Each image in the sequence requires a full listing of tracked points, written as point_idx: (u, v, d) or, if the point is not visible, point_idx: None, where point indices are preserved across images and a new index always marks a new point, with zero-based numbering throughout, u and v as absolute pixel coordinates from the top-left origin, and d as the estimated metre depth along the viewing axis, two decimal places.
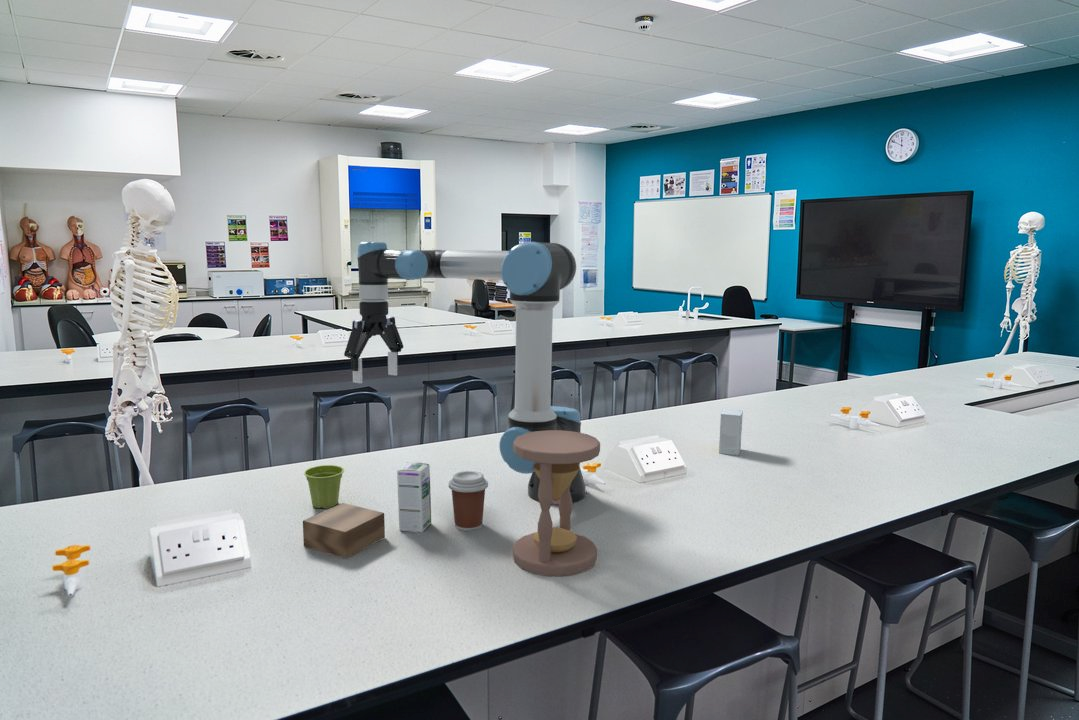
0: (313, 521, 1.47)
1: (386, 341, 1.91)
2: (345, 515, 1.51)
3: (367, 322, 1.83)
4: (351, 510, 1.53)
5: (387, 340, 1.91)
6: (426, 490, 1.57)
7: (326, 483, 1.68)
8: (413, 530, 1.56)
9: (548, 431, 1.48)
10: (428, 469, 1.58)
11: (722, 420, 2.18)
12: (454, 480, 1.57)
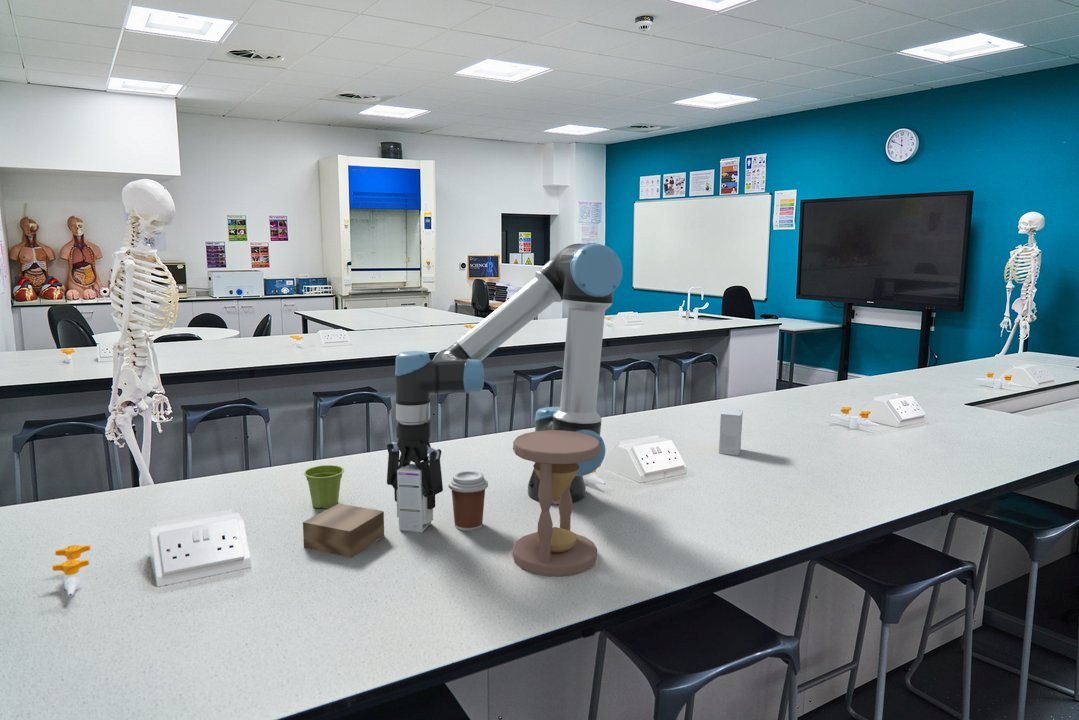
0: (313, 522, 1.47)
1: None
2: (345, 515, 1.51)
3: (397, 444, 1.57)
4: (350, 510, 1.53)
5: None
6: None
7: (326, 483, 1.68)
8: (413, 530, 1.56)
9: (548, 431, 1.48)
10: None
11: (722, 420, 2.18)
12: (454, 480, 1.57)
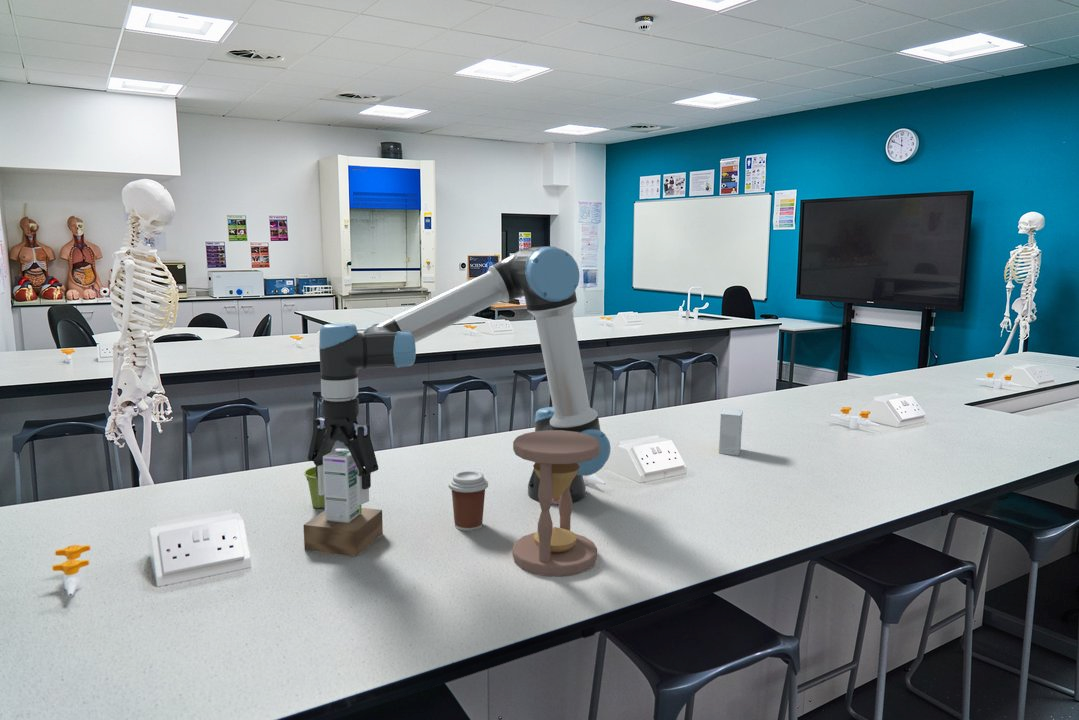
0: (314, 524, 1.46)
1: None
2: None
3: (324, 422, 1.47)
4: None
5: None
6: (355, 479, 1.48)
7: None
8: (339, 520, 1.47)
9: (548, 431, 1.48)
10: None
11: (722, 420, 2.18)
12: (454, 480, 1.57)
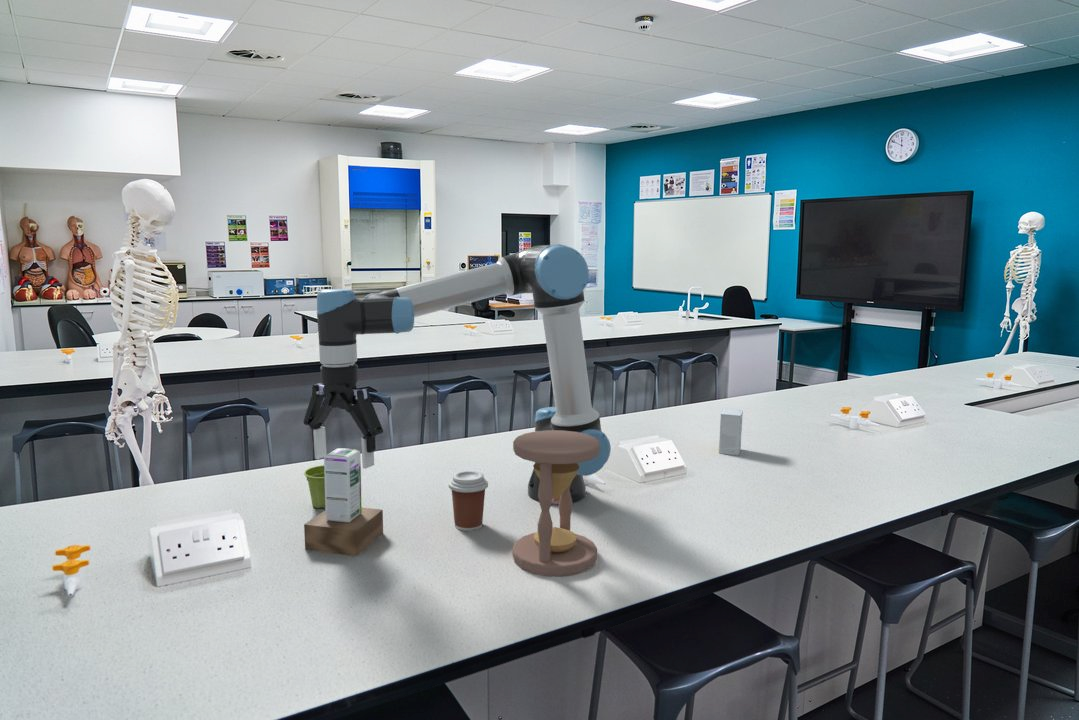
0: (315, 523, 1.46)
1: None
2: None
3: (323, 389, 1.46)
4: None
5: None
6: (356, 478, 1.48)
7: None
8: (340, 520, 1.47)
9: (548, 431, 1.48)
10: (358, 455, 1.49)
11: (722, 420, 2.18)
12: (454, 480, 1.57)
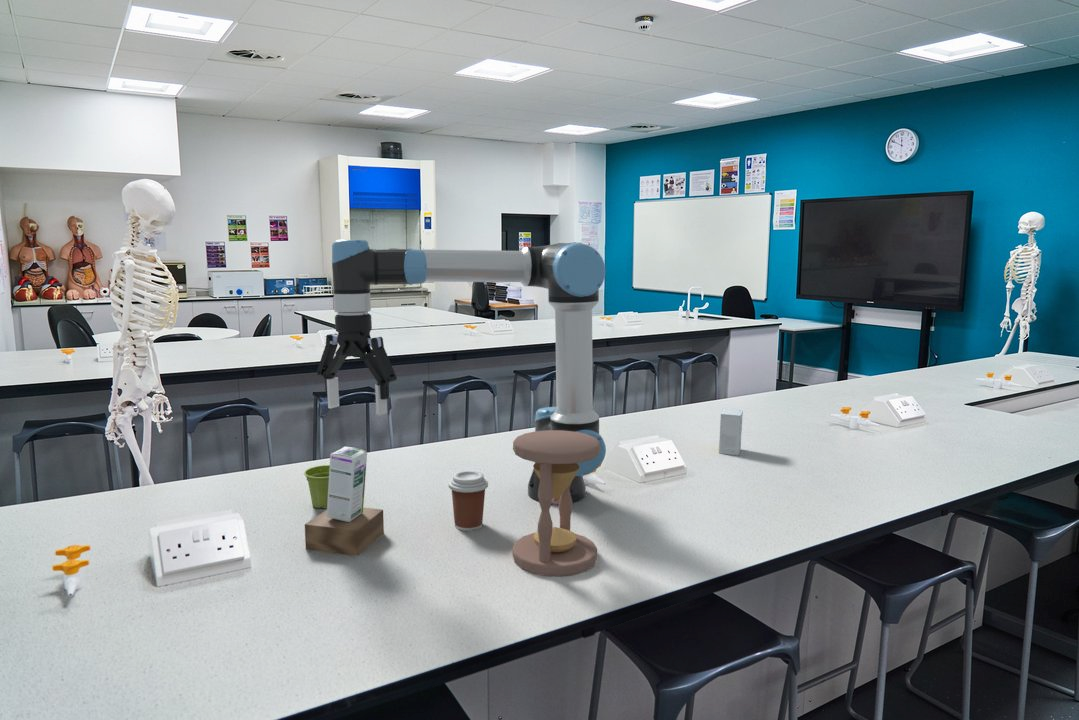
0: (315, 523, 1.46)
1: None
2: None
3: (337, 338, 1.49)
4: None
5: None
6: (360, 479, 1.48)
7: (326, 483, 1.68)
8: (340, 519, 1.47)
9: (548, 431, 1.48)
10: (365, 456, 1.49)
11: (722, 420, 2.18)
12: (454, 480, 1.57)
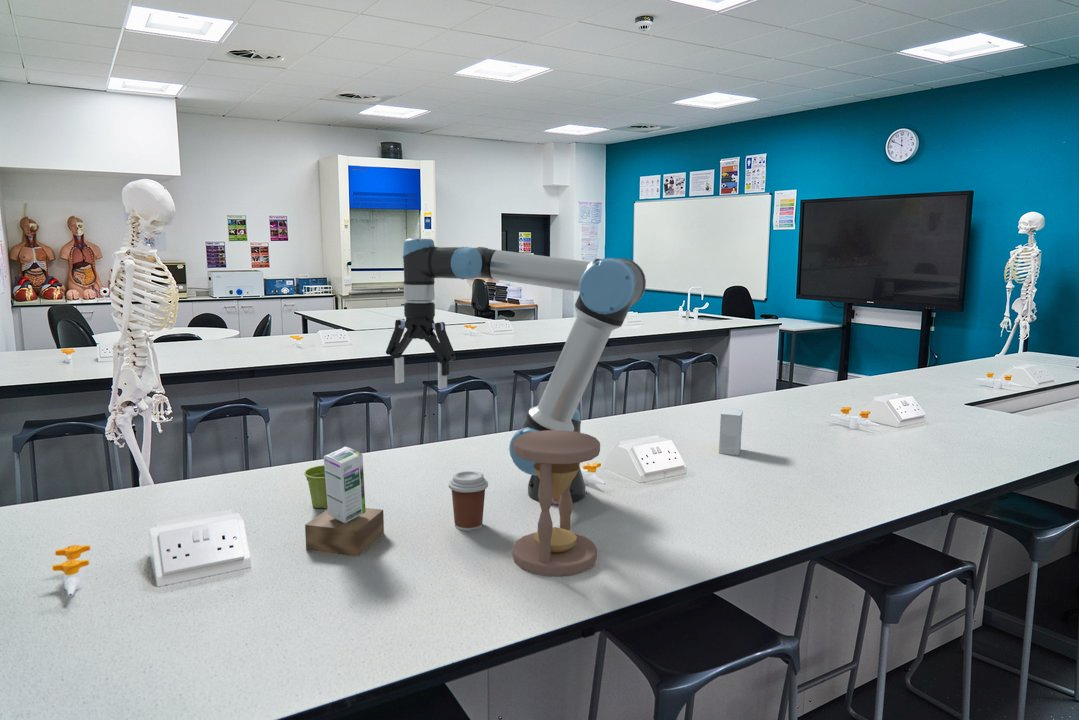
0: (316, 524, 1.46)
1: None
2: None
3: (405, 323, 1.74)
4: None
5: None
6: (354, 482, 1.45)
7: None
8: (338, 519, 1.47)
9: (548, 431, 1.48)
10: (359, 459, 1.45)
11: (722, 420, 2.18)
12: (454, 480, 1.57)
